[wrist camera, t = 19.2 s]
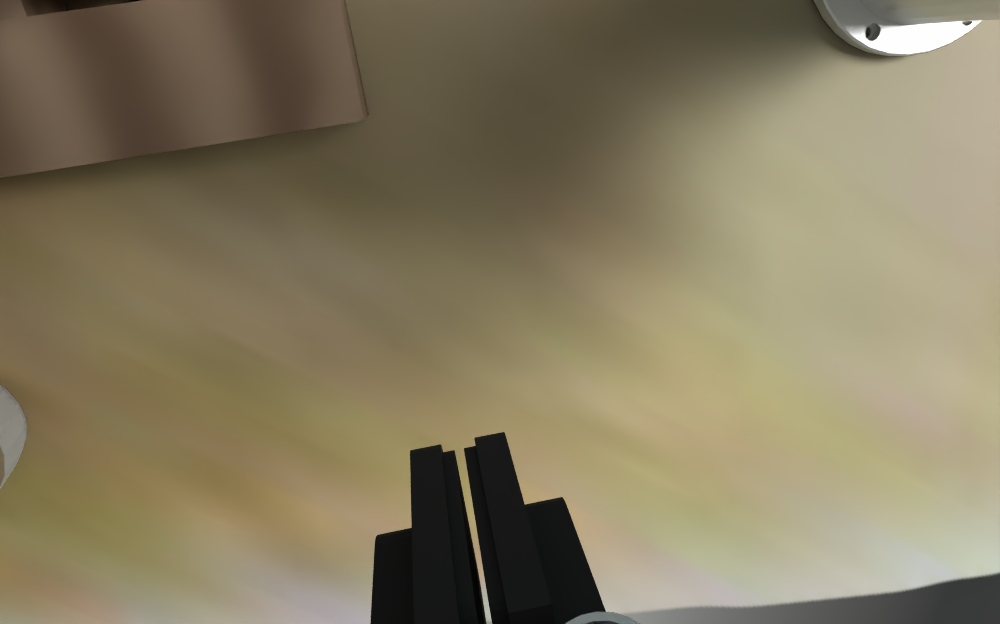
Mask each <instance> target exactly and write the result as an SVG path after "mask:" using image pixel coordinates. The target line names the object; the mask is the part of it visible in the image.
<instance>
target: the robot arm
mask: <svg viewBox="0 0 1000 624" xmlns="http://www.w3.org/2000/svg"><path fill="white" fill-rule="evenodd" d="M814 2H815V4H816V6H817V8H818V10H819V12H820V14H821V16H822V18H823V19H824V20H825V21H826V23H827V24H828V25H829V26H830V28H831V29H832V30H833V31H834V32H835V33H836V34H837V35H838V36H839V37H841V38H842V39H843V40H845V41H846V42H847V43H849V44H850V45H852V46H854V47H856V48H858V49H861V50H863V51H865V52H868V53H873V54H878V55H884V56H910V55H916V54H922V53H928V52H930V51H933V50H936V49H938V48H941V47H944V46H946V45H948V44H950V43H952V42H954V41H955V40H957V39H959V38H960V37H962V36H964V35H965V34H967V33H968V32H969V31H971V30H972V29H973V28H974V27H975V26H977V25H978V24H979V23H980V22H982V21H983V20H998V19H1000V0H814ZM865 32H866V33H865ZM475 444H476V446H473V447H468V448H464V452H465V458H466V464H467V470H468V477H469V483H470V489H471V495H472V502H473V508H474V514H475V520H476V527H477V533H478V539H479V545H480V551H481V558H482V564H483V570H484V576H485V583H486V589H487V595H488V601H489V607H490V613H491V619H492V624H640V623H638V622H636V621H635V620H633V619H632V618H630V617H627V616H624V615H621V614H617V613H614V612H606V611H605V608H604V606H603V603H602V600H601V597H600V595H599V592H598V589H597V587H596V584H595V581H594V578H593V576H592V573H591V570H590V568H589V565H588V562H587V559H586V557H585V554H584V551H583V549H582V546H581V543H580V540H579V538H578V535H577V532H576V530H575V527H574V524H573V521H572V519H571V516H570V513H569V511H568V508H567V505H566V503H565V501H564V499H563V498H562V497H560V498H555V499H550V500H546V501H541V502H536V503H531V504H526V505H524V501H523V497H522V494H521V490H520V486H519V483H518V479H517V476H516V472H515V468H514V465H513V461H512V457H511V454H510V450H509V447H508V443H507V439H506V436H505V433H504V432H502V433H497V434H491V435H486V436H481V437H476V438H475ZM410 469H411V514H412V528H409V529H404V530H400V531H395V532H390V533H385V534H380V535H377V537H376V540H375V552H374V571H373V589H372V607H371V624H486V619H485V612H484V605H483V599H482V592H481V586H480V580H479V574H478V569H477V563H476V558H475V553H474V548H473V543H472V538H471V533H470V527H469V522H468V517H467V512H466V507H465V502H464V497H463V491H462V486H461V481H460V476H459V471H458V466H457V461H456V456H455V451H454V450H453V451H448V452H443V450H442V446H441V445H435V446H430V447H425V448H420V449H415V450H411V451H410Z"/></svg>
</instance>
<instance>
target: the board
mask: <svg viewBox="0 0 1000 624" xmlns="http://www.w3.org/2000/svg"><path fill="white" fill-rule="evenodd" d="M367 116H368V110H367V105H366V100H365V95H364V90H363V85H362V81H361V76H360V71H359V66H358V61H357V56H356V51H355V47H354V42H353V37H352V32H351V27H350V22H349V17H348V13H347V8H346V3H345V0H142V1H135V2H128V3H121V4H113V5H106V6H99V7H92V8H85V9H78V10H70V11H67V9H66V6H65V3H64V0H0V178H4V177H10V176H17V175H23V174H29V173H36V172H42V171H48V170H55V169H61V168H68V167H74V166H80V165H87V164H93V163H99V162H106V161H112V160H118V159H125V158H131V157H138V156H144V155H150V154H157V153H163V152H169V151H176V150H182V149H189V148H195V147H201V146H208V145H214V144H220V143H227V142H233V141H239V140H246V139H252V138H259V137H265V136H271V135H278V134H284V133H290V132H297V131H303V130H309V129H316V128H322V127H329V126H335V125H341V124H348V123H354V122H360V121H365V119H366V117H367Z"/></svg>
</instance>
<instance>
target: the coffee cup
mask: <svg viewBox="0 0 1000 624" xmlns="http://www.w3.org/2000/svg"><path fill="white" fill-rule="evenodd" d="M26 439H27V421H26V418H25V416H24V413H23V411H22V409H21V406H20V404H19V403H18V402H17V401H16V399H15V398H14V397H13V396H12V395H11V394H10V393H9V391H8V390H7V389H6V388H4V387H3V386H1V385H0V489H1V488H2V486H3V485H4V483H5V481H6V480H7V478H8V477H9V475H10V474H11V472H12V471H13V469H14V468H15V466H16V465H17V463H18V461H19V458H20V456H21V453H22V451H23V448H24V444H25V441H26Z"/></svg>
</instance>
